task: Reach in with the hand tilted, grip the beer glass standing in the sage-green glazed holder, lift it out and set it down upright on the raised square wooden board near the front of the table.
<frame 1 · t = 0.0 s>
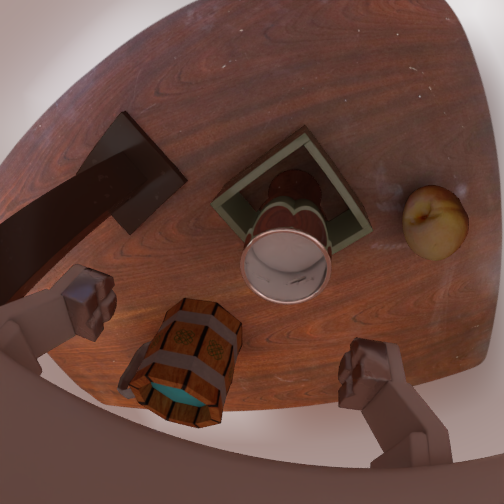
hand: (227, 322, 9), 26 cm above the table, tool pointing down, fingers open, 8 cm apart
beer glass: (295, 194, 34), resting in holder
mug: (189, 330, 50), on the table
fruit: (422, 207, 32), on the table
stand post: (127, 174, 36), on the table
holder: (294, 194, 34), on the table
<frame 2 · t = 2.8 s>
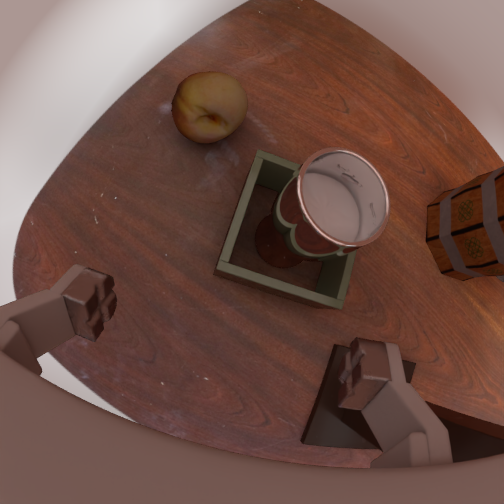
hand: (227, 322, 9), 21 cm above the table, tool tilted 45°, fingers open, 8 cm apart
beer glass: (282, 240, 33), resting in holder
mug: (465, 248, 38), on the table
fruit: (208, 127, 33), on the table
stand post: (361, 401, 31), on the table
holder: (282, 240, 32), on the table
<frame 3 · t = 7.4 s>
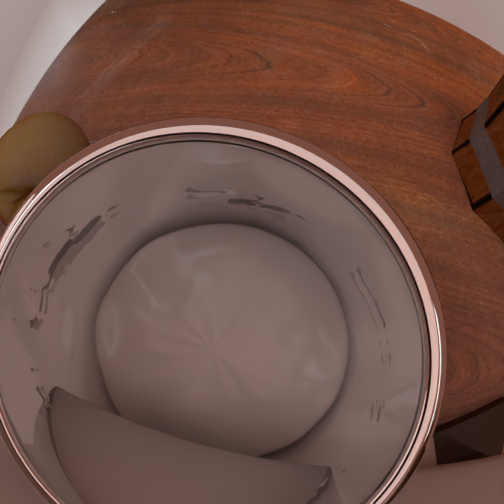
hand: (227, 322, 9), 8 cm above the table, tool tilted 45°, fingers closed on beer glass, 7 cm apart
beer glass: (237, 330, 18), resting in holder, touching gripper
fruit: (70, 196, 20), on the table
stand post: (443, 482, 15), on the table
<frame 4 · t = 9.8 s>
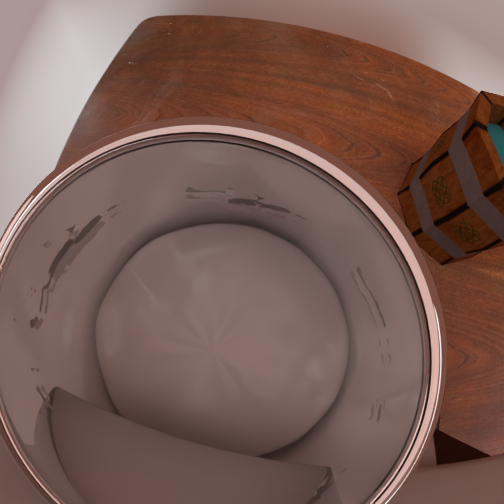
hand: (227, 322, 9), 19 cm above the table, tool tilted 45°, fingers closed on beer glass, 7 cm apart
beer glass: (237, 330, 18), point 10 cm above the table, touching gripper
mug: (461, 217, 31), on the table
stand post: (390, 440, 25), on the table
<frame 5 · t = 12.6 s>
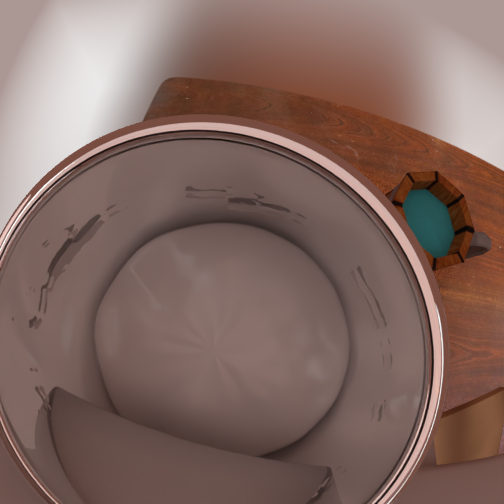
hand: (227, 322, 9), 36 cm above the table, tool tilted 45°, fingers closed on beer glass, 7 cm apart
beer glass: (236, 330, 18), point 27 cm above the table, touching gripper
mug: (403, 249, 47), on the table
square wooden board: (438, 477, 15), resting on stand post
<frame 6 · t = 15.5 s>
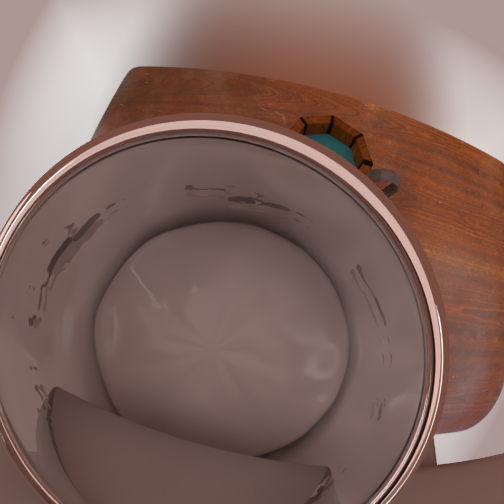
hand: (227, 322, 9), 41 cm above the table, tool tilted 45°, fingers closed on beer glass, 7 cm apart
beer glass: (236, 330, 18), point 33 cm above the table, touching gripper
mug: (324, 197, 55), on the table
when the fingers open (36 cm above the table, at t = 18.1 s): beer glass stays where it is, resting on square wooden board.
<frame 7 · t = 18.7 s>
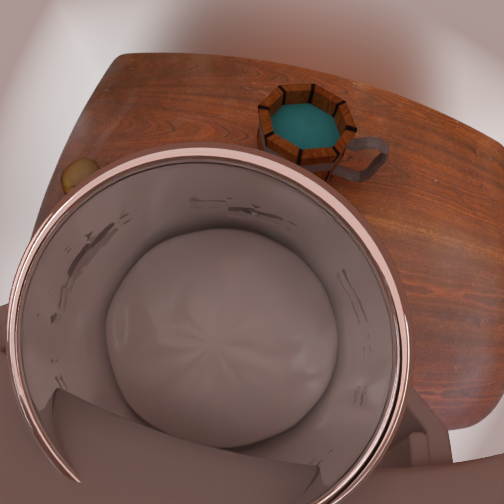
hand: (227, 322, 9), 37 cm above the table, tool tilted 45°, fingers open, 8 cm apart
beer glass: (236, 329, 18), point 28 cm above the table, touching square wooden board
mug: (310, 173, 51), on the table
fruit: (93, 189, 51), on the table
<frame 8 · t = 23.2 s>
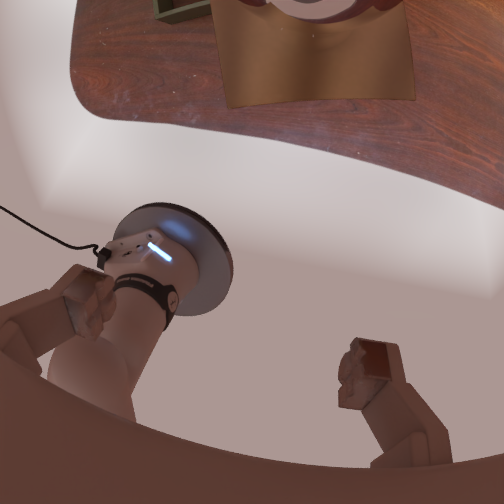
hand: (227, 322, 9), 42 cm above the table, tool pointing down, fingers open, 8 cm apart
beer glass: (309, 11, 15), point 28 cm above the table, touching square wooden board
square wooden board: (310, 13, 15), resting on stand post
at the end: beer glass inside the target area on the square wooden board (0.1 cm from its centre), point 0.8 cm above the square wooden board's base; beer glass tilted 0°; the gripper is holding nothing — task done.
